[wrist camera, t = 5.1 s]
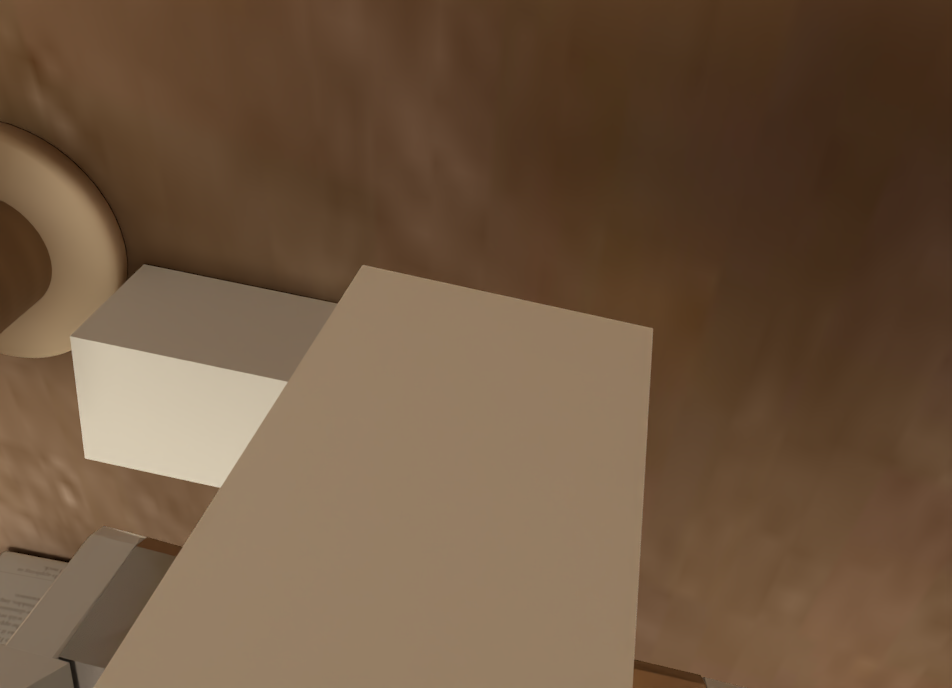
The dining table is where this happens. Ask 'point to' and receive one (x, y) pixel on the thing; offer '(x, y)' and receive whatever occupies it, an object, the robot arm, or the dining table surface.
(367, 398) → the gold trimmed white carton
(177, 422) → the notched board
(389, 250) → the dining table surface
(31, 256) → the spool
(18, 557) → the skincare box
